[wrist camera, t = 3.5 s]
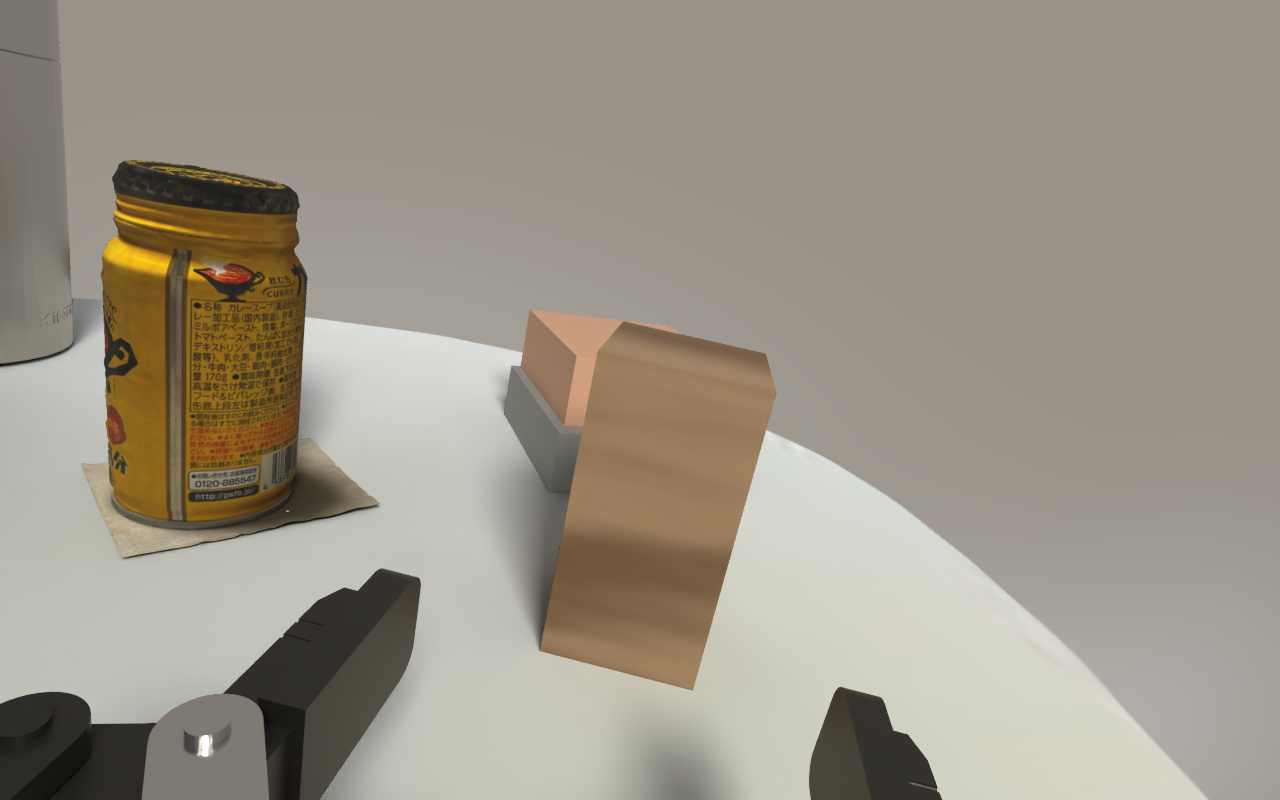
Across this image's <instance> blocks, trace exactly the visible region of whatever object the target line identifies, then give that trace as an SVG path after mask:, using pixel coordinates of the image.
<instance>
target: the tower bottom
mask: <svg viewBox="0 0 1280 800" xmlns="http://www.w3.org/2000/svg"><path fill="white" fill-rule="evenodd" d="M504 415H505V416H506V418H507V420H508V422H509V423H510V425H511V427H512V429H513V430H514V432H515V434H516V436H517V437H518V439H519V441H520V443H521V444H522V446H523V448H524V450H525V451H526V453H527V455H528V457H529V458H530V460H531V462H532V464H533V465H534V467H535V469H536V471H537V472H538V474H539V476H540V478H541V479H542V481H543V483H544V485H545V486H546V488H547V490H548V492H570V491H571V486H572V481H573V476H574V471H575V465H576V460H577V455H578V450H579V445H580V440H581V434H582V429H583V427H578V426H564V425H563V424H562V422H561V421H560V420H559V418H558V417H557V416H556V414H555V413H554V412H553V410H552V409H551V407H550V406H549V405H548V403H547V402H546V401H545V399H544V398H543V397H542V395H541V394H540V392H539V391H538V390H537V388H536V387H535V386H534V384H533V383H532V381H531V380H530V379H529V377H528V376H527V375H526V373H525V372H524V371H523V369H522V368H521V366H511V372H510V379H509V385H508V392H507V398H506V404H505V411H504Z"/></svg>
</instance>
